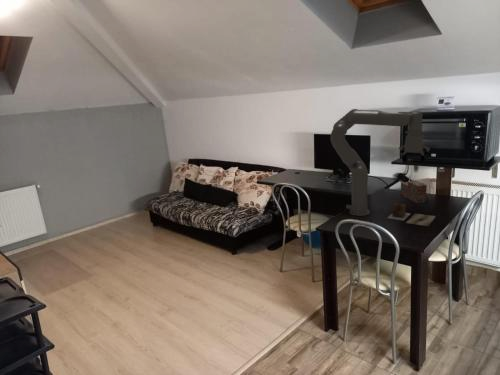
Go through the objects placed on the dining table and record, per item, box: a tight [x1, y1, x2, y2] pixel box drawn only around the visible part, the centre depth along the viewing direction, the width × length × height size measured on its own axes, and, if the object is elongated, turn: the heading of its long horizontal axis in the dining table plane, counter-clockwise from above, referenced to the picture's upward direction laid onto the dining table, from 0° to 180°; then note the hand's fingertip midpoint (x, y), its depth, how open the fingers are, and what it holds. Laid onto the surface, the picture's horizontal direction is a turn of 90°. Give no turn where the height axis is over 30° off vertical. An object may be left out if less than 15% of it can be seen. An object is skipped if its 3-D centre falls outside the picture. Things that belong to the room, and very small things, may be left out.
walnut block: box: [391, 202, 407, 218], centre depth 233 cm, size 6×6×7 cm
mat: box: [386, 212, 411, 221], centre depth 234 cm, size 10×14×1 cm
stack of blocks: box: [400, 180, 428, 204], centre depth 263 cm, size 21×6×12 cm, turn 8°
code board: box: [405, 213, 436, 227], centre depth 225 cm, size 12×18×1 cm, turn 142°
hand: (413, 161), depth 229 cm, fingers open, 9 cm apart
